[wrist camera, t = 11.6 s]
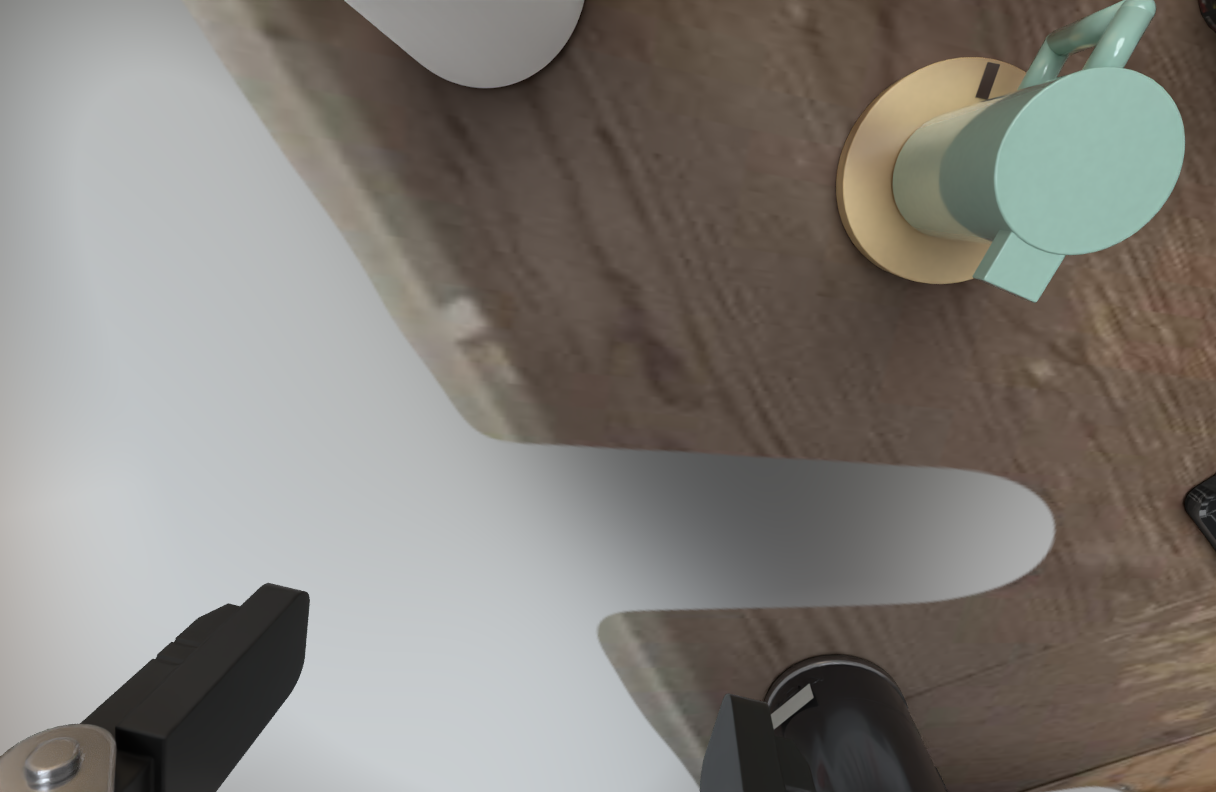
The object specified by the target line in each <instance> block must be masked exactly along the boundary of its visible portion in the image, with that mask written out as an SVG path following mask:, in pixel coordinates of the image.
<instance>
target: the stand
mask: <svg viewBox="0 0 1216 792" xmlns="http://www.w3.org/2000/svg"><path fill="white" fill-rule="evenodd" d="M1025 74H1026V72H1024V71H1023V70H1021V69H1019V68H1017V67H1015V66H1013V65H1011V64H1009V63H1005V62H1002V61H998V60H995V59H989V58H982V57H962V58H954V59H948V60H944V61H941V62H937V63H933V64H931V65H928V66H926V67H924V68H921V69H919V70H917V71H915V72H913V73H911V74H909V75H907V76H906V77H904V78H902V79H900V80H899V81H897V82H895V83H894V84H892V85H891V86H890V87H888V88H887V89H886V90H884V91H883V92H882V93H881V94H880V95H879V96H878V97H876V98H875V99H874V100H873V101H872V102H871V103H870V104H869V106H868V107H867V108H866V109H865V110H864V112H863V113H862V114H861V115H860V117H859V118H858V120H857V121H856V123H855V124H854V126H853V128H852V130H851V132H850V133H849V135H848V137H847V139H846V142H845V144H844V147H843V150H842V153H841V156H840V160H839V164H838V169H837V178H836V198H837V204H838V210H839V214H840V217H841V220H842V223H843V226H844V228H845V230H846V232H847V234H848V236H849V237H850V239H851V241H852V242H853V244H854V245H855V246H856V248H857V249H858V250H859V251H860V252H861V253H862V254H863V255H864V256H865V257H866V258H867V259H868V260H869V261H871V262H872V263H873V264H875V265H876V266H878V267H879V268H881V269H883V270H885V271H887V272H889V273H891V274H893V275H896V276H899V277H902V278H905V279H909V280H912V281H915V282H921V283H928V284H949V283H958V282H962V281H967V280H971V279H974V278H973V277H972V276H973V274H974V273H975V271H976V269H977V268H978V266H979V264H980V262H981V261H982V259H983V257H984V255H985V254H986V252H987V250H988V249H989V247H990V245H986V244H979V243H972V242H965V241H958V240H950V239H943V238H937V237H932V236H929V235H926V234H924V233H922V232H920V231H918V230H916V229H915V228H914V227H912V226H911V225H910V224H909V223H908V222H907V221H906V220H905V219H904V217H903V216H902V215H901V213H900V211H899V209H898V207H897V205H896V202H895V199H894V194H893V185H892V184H893V172H894V167H895V164H896V161H897V158H898V156H899V153H900V151H901V150H902V148H903V146H904V144H905V143H906V142H907V140H908V139H909V138H910V136H911V135H912V134H913V133H914V132H915V131H916V130H917V129H918V128H919V127H921V126H922V125H923V124H924V123H926V122H927V121H929V120H930V119H932V118H934V117H936V116H938V115H940V114H943V113H946V112H949V111H952V110H956V109H959V108H962V107H965V106H968V105H972V104H975V103H978V102H981V101H984V100H988V99H991V98H994V97H997V96H1000V95H1004V94H1007V93H1010V92H1013V91H1016V90H1017V89H1018V87H1019V85H1020V84H1021V82H1022V80H1023V78H1024V76H1025Z"/></svg>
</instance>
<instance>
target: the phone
mask: <svg viewBox="0 0 1216 792" xmlns="http://www.w3.org/2000/svg"><path fill="white" fill-rule="evenodd" d="M1185 508H1186V510H1187V512H1188V514H1189V515H1190V516H1191V518H1192V519H1193V520H1194V522H1195V523H1196V524H1197V526H1198V527H1199V528H1200V530H1201V531H1202V532H1203V534H1204V535H1205V536H1206V538H1207V539H1208V540H1209V542H1210V543H1211V544H1212V546H1213V547H1214V548H1215V550H1216V475H1215V476H1213V477H1212V478H1210V479H1208V480H1207V481H1205V482H1203V483H1202V484H1200V485H1199V486H1197V487H1195V488H1194V489H1193V490H1192V491H1191V492H1190V493H1189V494H1188V496H1187V498H1186V501H1185Z"/></svg>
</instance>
